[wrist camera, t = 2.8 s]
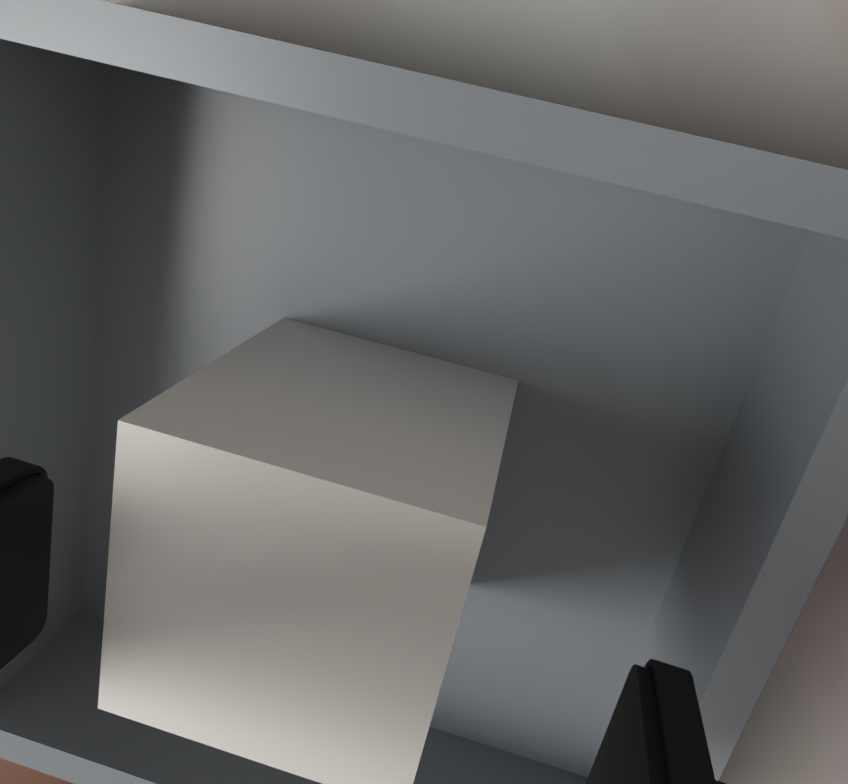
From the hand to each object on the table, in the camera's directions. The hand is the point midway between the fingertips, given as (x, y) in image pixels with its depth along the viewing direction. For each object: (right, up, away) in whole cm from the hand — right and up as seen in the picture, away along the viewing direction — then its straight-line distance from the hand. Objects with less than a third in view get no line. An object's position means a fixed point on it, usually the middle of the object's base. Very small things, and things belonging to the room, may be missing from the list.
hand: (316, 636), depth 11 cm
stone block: (+1, +2, +5) cm, 5 cm away
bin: (+1, +3, +5) cm, 6 cm away
